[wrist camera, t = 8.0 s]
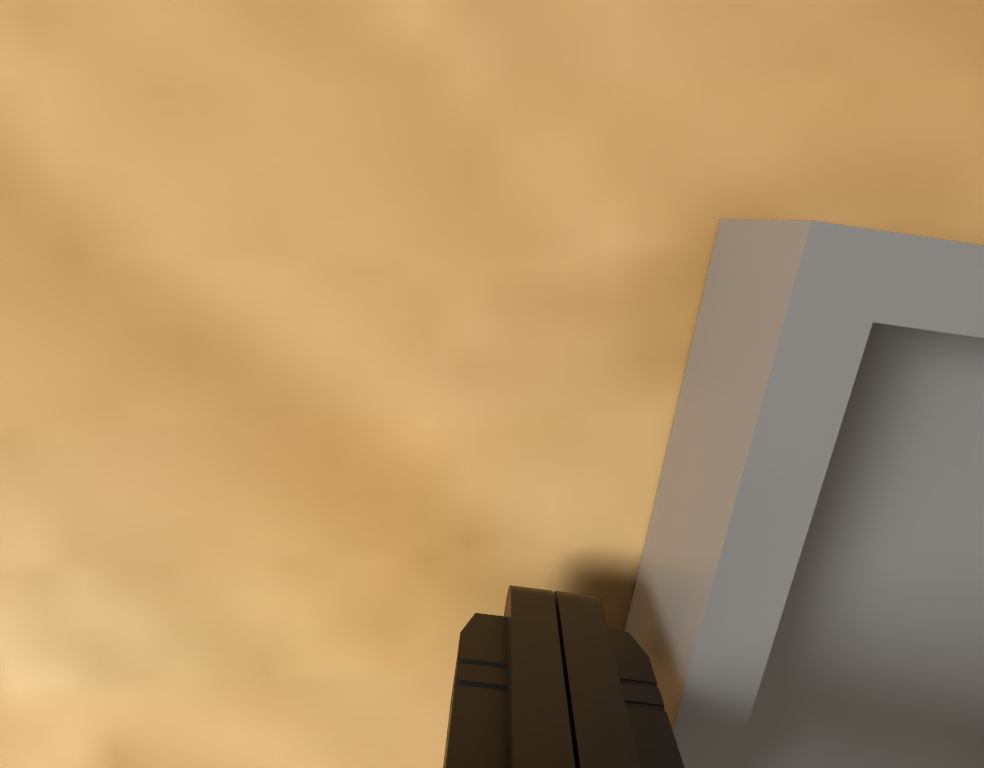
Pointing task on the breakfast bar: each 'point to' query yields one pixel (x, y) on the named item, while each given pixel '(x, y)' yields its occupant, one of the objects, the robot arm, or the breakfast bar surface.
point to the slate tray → (824, 506)
